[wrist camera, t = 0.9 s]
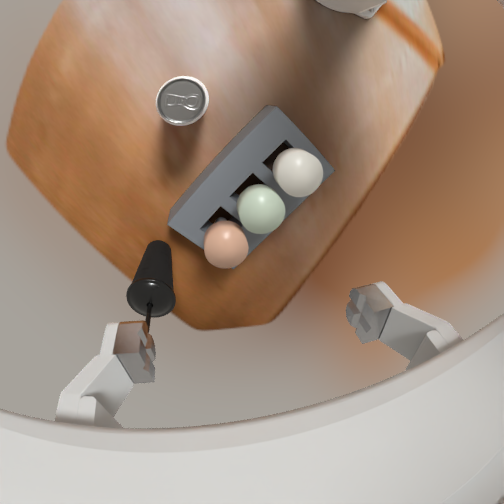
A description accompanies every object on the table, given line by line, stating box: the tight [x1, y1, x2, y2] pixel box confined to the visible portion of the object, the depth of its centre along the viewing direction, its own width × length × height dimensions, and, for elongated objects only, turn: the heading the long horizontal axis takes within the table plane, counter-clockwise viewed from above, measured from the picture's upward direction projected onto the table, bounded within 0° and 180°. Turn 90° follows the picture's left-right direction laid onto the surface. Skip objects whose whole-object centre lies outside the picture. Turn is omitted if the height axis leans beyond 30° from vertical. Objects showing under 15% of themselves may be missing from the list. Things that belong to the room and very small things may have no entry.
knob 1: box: [204, 217, 249, 268], centre depth 40 cm, size 6×6×8 cm
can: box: [156, 76, 209, 126], centre depth 31 cm, size 6×6×12 cm
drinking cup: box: [127, 240, 176, 333], centre depth 41 cm, size 8×8×20 cm
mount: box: [167, 105, 335, 269], centre depth 43 cm, size 24×14×6 cm, turn 135°
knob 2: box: [273, 148, 323, 197], centre depth 36 cm, size 6×6×8 cm
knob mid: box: [237, 184, 285, 234], centre depth 38 cm, size 6×6×8 cm
